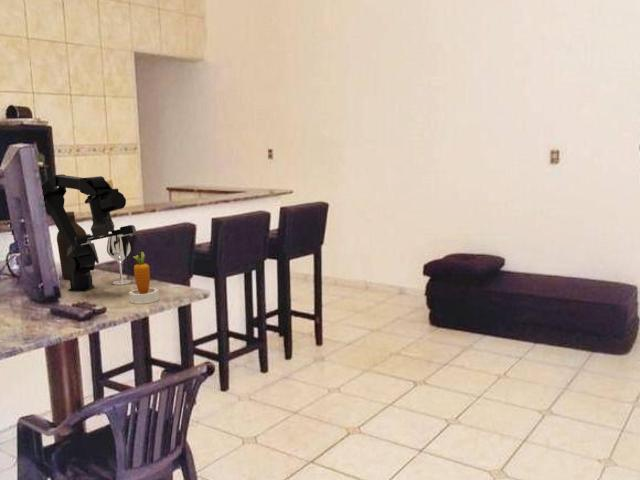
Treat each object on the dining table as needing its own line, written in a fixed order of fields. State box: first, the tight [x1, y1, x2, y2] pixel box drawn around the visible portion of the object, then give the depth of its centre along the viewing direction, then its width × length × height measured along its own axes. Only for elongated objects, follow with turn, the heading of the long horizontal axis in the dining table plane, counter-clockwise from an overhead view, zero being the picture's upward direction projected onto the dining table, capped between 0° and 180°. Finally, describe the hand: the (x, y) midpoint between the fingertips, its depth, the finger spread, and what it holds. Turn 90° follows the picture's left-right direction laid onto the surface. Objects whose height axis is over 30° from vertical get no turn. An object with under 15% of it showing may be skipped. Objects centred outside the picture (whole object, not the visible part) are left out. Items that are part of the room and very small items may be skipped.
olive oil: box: [56, 211, 87, 281], centre depth 232 cm, size 11×11×25 cm
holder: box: [128, 287, 160, 305], centre depth 199 cm, size 9×9×3 cm
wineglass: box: [106, 233, 132, 286], centre depth 223 cm, size 8×8×18 cm
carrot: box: [132, 251, 151, 294], centre depth 198 cm, size 5×5×15 cm
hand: (111, 260), depth 205 cm, fingers open, 9 cm apart
